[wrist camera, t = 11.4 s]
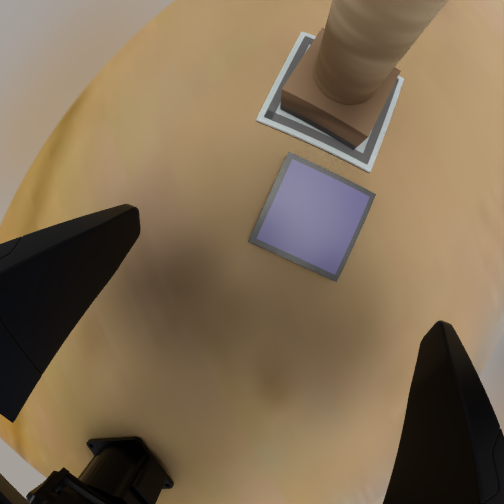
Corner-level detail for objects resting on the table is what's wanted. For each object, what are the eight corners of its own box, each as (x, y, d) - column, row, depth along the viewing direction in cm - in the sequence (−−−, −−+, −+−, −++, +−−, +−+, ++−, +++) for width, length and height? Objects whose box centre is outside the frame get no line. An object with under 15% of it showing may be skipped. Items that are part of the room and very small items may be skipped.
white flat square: (368, 172, 17) (370, 172, 17) (256, 121, 18) (256, 119, 17) (402, 80, 16) (404, 78, 16) (301, 33, 17) (302, 30, 16)
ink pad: (332, 277, 18) (337, 283, 17) (249, 239, 18) (247, 241, 17) (369, 195, 18) (377, 193, 16) (287, 156, 18) (289, 150, 16)
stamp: (280, 109, 17) (290, -50, 5) (316, 52, 16) (353, -99, 4) (353, 150, 17) (472, 46, 4) (384, 90, 16) (485, -28, 4)
